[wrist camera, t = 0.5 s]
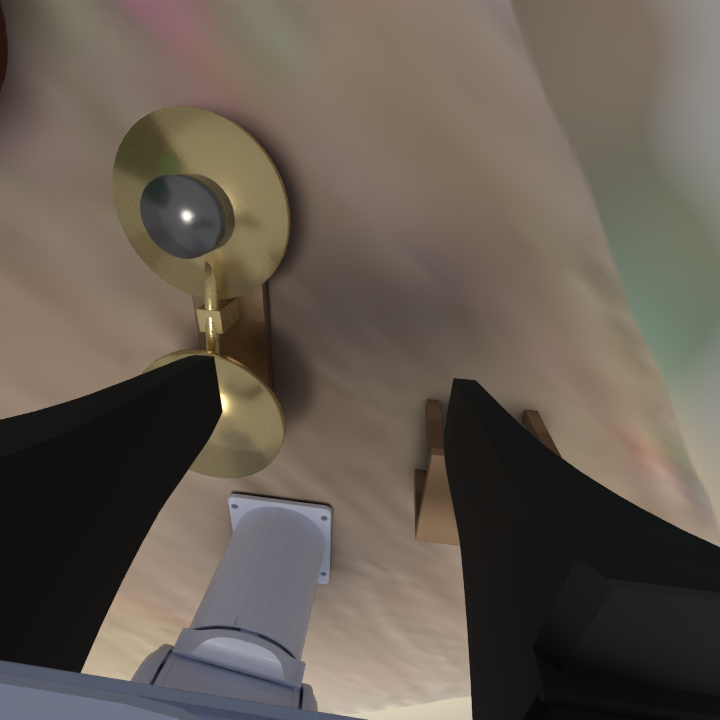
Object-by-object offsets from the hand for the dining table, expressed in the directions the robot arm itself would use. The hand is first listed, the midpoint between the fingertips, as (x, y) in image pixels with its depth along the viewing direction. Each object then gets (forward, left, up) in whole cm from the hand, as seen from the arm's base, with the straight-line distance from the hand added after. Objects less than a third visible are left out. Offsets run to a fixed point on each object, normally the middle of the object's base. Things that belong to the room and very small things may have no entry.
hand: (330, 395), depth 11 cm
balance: (-1, +7, -10) cm, 13 cm away
